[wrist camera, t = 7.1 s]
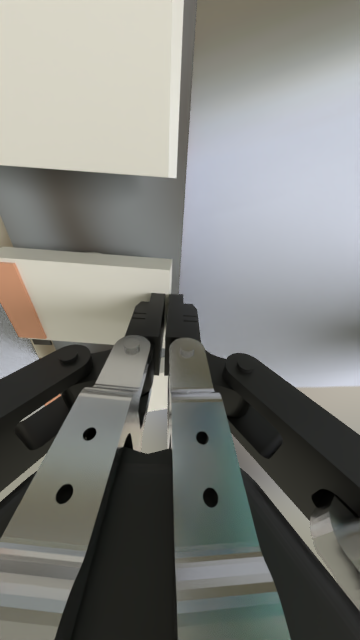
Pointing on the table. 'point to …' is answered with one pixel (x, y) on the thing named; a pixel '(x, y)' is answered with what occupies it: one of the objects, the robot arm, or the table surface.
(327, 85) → the table surface
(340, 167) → the table surface
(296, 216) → the table surface
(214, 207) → the table surface
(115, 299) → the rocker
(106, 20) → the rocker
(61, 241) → the switch box
